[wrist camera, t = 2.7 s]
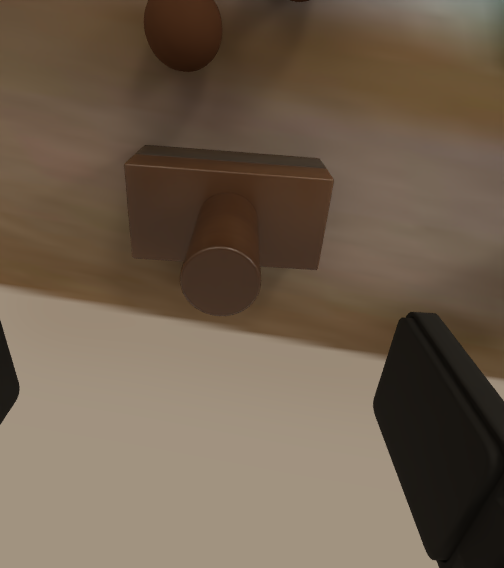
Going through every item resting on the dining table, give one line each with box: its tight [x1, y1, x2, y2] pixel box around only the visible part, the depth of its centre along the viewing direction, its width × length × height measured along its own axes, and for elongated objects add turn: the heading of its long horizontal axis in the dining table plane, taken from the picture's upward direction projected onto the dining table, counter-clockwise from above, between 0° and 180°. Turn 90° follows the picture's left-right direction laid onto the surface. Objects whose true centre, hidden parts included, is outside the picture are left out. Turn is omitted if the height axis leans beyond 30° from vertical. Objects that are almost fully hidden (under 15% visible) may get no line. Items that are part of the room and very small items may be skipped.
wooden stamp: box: [124, 145, 334, 316], centre depth 15 cm, size 4×8×8 cm, turn 86°
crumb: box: [144, 0, 222, 72], centre depth 14 cm, size 3×3×3 cm
